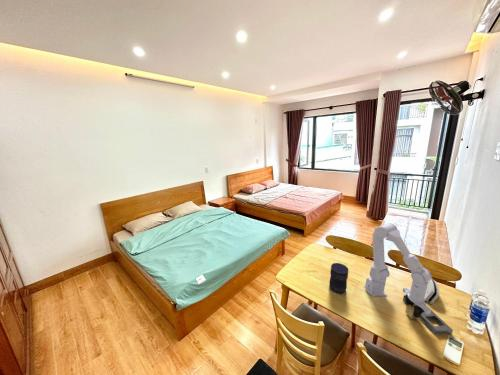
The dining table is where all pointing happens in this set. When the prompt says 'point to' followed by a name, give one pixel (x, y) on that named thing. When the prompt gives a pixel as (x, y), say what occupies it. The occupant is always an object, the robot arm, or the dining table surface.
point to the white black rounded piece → (432, 291)
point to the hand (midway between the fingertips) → (412, 312)
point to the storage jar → (338, 278)
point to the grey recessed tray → (432, 316)
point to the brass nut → (410, 311)
